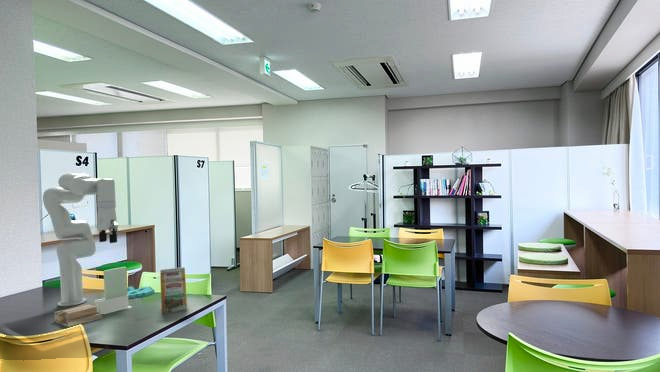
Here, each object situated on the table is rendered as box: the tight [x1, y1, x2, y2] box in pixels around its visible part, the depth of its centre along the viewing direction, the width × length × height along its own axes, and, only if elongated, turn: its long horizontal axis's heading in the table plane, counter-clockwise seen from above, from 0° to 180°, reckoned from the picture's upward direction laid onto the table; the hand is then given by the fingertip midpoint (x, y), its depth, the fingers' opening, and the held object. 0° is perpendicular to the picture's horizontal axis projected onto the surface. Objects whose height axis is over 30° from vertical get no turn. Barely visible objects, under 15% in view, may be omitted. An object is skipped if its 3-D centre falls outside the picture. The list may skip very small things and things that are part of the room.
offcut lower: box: [63, 312, 98, 325], centre depth 182 cm, size 6×11×2 cm, turn 143°
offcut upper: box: [63, 304, 98, 319], centre depth 182 cm, size 6×11×2 cm, turn 143°
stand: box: [94, 295, 133, 315], centre depth 199 cm, size 9×13×6 cm
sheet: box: [103, 266, 128, 300], centre depth 201 cm, size 1×10×18 cm, turn 142°
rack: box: [53, 304, 103, 328], centre depth 184 cm, size 14×13×6 cm
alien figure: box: [127, 286, 155, 300], centre depth 232 cm, size 20×2×20 cm
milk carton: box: [159, 266, 188, 315], centre depth 199 cm, size 11×11×19 cm
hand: (108, 242), depth 200 cm, fingers open, 9 cm apart
